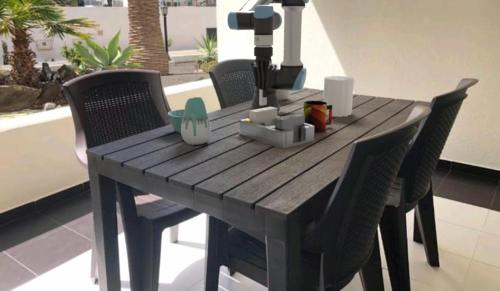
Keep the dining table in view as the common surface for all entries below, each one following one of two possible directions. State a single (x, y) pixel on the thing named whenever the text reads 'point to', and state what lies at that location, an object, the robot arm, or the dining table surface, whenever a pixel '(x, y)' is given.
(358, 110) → the dining table surface
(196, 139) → the vase
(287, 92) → the planter
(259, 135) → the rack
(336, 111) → the container
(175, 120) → the bowl
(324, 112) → the mug
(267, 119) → the block
